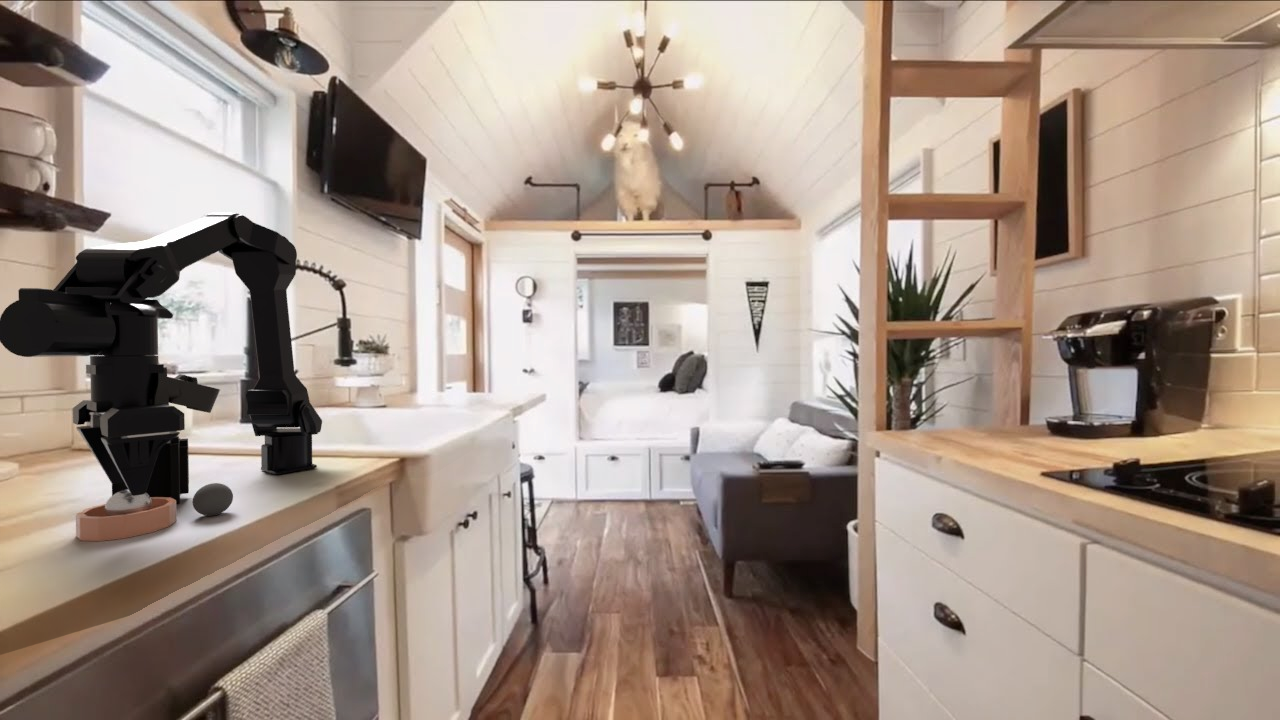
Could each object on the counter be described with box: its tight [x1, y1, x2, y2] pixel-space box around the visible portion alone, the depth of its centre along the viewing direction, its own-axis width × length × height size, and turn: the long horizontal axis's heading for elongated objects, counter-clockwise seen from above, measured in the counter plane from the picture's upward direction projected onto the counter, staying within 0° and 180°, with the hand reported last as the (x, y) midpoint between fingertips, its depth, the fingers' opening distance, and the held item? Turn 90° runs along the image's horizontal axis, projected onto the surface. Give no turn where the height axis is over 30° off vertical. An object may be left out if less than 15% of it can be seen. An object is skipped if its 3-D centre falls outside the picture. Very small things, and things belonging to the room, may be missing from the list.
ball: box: [192, 482, 234, 517], centre depth 67 cm, size 4×4×4 cm
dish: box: [75, 497, 178, 542], centre depth 62 cm, size 8×8×2 cm
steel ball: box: [105, 489, 152, 516], centre depth 62 cm, size 4×4×4 cm
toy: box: [111, 435, 190, 506], centre depth 73 cm, size 8×14×10 cm
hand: (127, 488), depth 62 cm, fingers open, 9 cm apart
